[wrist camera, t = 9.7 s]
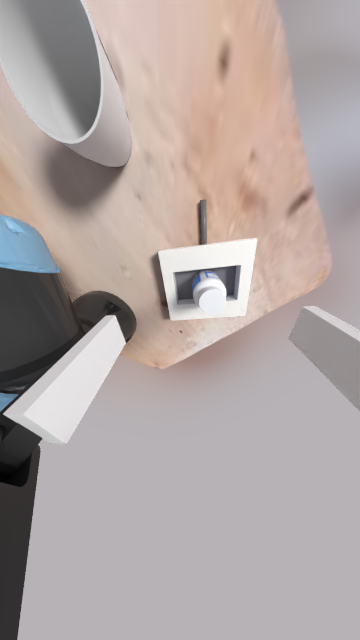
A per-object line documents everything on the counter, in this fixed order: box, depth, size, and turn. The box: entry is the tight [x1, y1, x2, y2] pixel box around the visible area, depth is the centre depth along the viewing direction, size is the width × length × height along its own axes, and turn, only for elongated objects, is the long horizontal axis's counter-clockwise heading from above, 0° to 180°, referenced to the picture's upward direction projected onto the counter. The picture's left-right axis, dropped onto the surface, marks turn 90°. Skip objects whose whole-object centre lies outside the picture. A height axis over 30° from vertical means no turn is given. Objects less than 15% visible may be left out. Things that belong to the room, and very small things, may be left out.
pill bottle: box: [192, 270, 226, 314], centre depth 24 cm, size 6×5×10 cm
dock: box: [158, 200, 257, 321], centre depth 25 cm, size 16×20×3 cm
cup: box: [0, 0, 132, 167], centre depth 14 cm, size 8×8×10 cm
